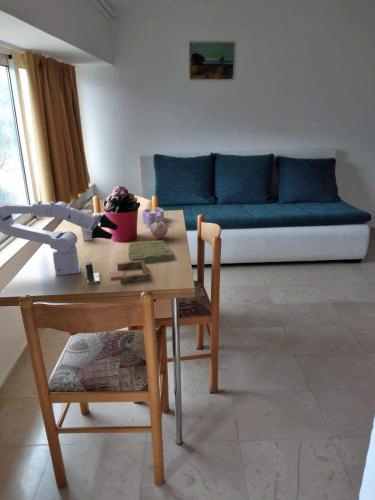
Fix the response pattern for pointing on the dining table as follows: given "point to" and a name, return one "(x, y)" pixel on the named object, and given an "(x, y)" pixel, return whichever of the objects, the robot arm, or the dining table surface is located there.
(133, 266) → the frame
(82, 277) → the dining table surface
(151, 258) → the decorative tile
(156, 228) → the decorative fruit
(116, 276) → the salmon pink panel
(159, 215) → the purple lobed block
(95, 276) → the grey block
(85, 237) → the drinking glass
